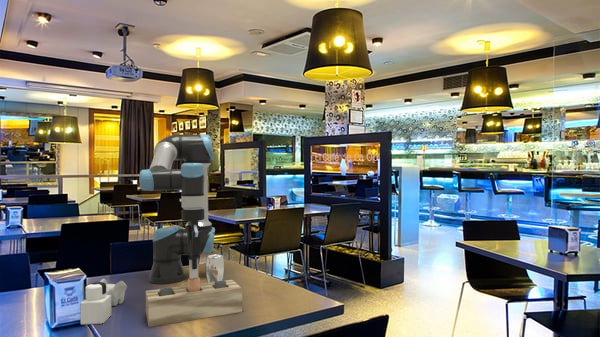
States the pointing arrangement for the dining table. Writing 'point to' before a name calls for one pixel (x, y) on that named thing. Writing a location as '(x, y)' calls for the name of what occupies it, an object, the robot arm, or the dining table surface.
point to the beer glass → (214, 268)
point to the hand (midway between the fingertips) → (193, 277)
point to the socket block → (192, 303)
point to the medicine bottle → (95, 304)
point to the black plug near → (166, 291)
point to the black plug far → (219, 284)
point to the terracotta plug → (193, 284)
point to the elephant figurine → (115, 292)
